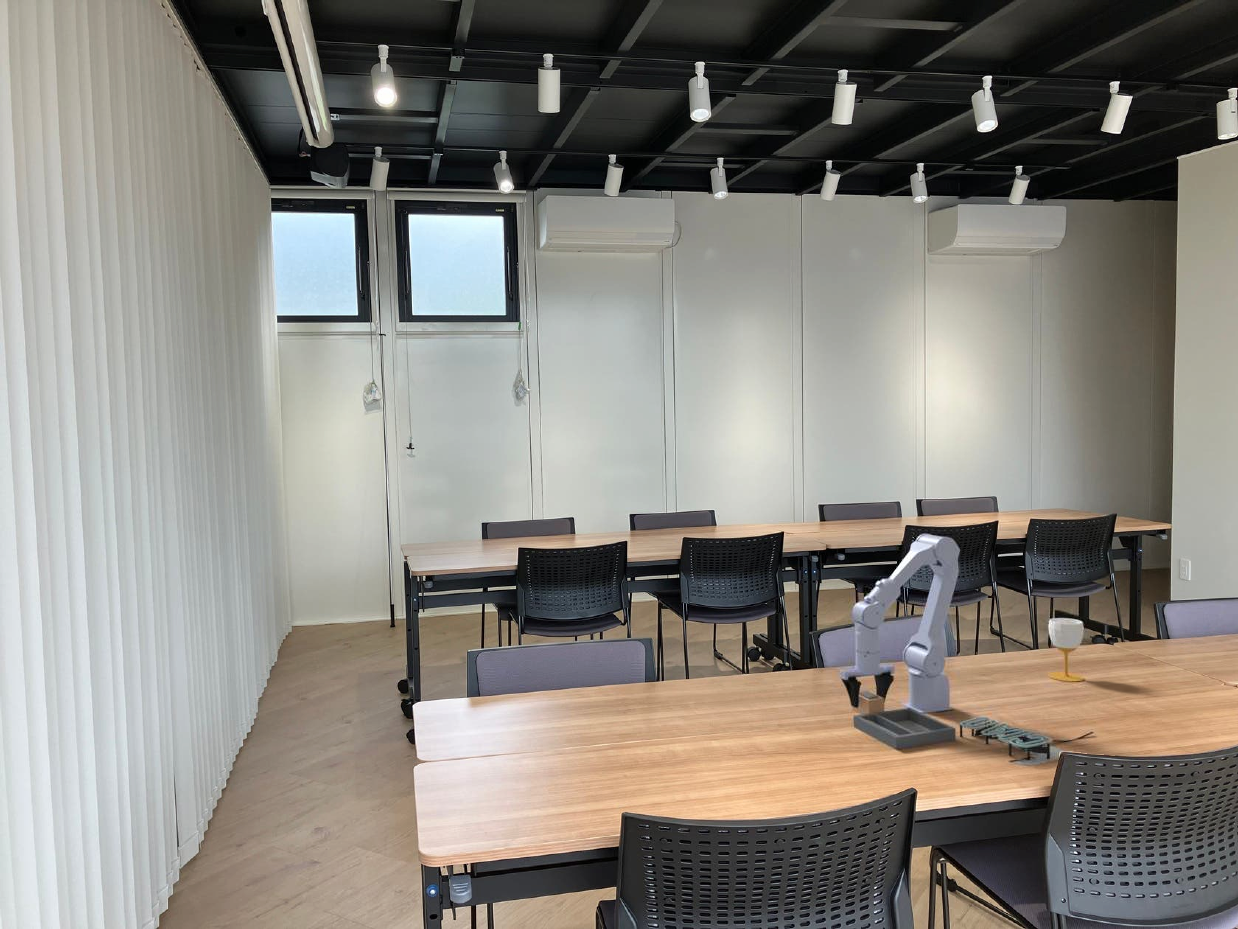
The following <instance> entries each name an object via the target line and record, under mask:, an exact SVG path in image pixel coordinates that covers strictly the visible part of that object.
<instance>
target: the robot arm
mask: <svg viewBox="0 0 1238 929" xmlns="http://www.w3.org/2000/svg"><path fill="white" fill-rule="evenodd" d="M960 551H961V549H960V547H959V546H958V544H957V543H956V541H955V540H954V539H953V538H952V537H948V536H941V535H935V534H934V535H933V534H930V533H921V534H919V536H917V537H916V540H915V541H913V542H912V543H911V544H910V549H909V551H908V553H907V554H906V555H905V557H904V558H903V559H902V561H901V562H900V563H899V565H898V566H896V569H895V570H894V571H893V573H892V574H891V575H890V576H889V577H888V578H882V579H880V580H877V581H876V583H875V586H874V588H873V589H872V590H871V591H870V592H869V593H868V594H867V595H865V596H864V598H863V600H861V601H858V602H856V603H855V605H854V606H853V608H852V611H850V613H849V615H850V618H851V620H852V621H853V623H854V630H855V632H854V633H855V634H854V635H855V642H854V643H855V645H854V646H855V664H854V666H853V667H852V666H851V667H849V668H844V669H840V673H839V674H840V675H839V676H840V679H841V681H842V683H843V686H844V687H845V690H846V692H847V695H848V698H849V703H850V706H851V707H852V706H853V707H855V708H858V706H859V692H860V691H861V690H860V688H861V685H862V681H859V680H858V678H862V677H871V676H874V677H873V678H874V681H875V688H876V691H875V692H876V693H875V694H876V695H878V696H880V697H882V698H884V704H885V703H886V698H887V695H888V692H889V689H890V687H891V685H892V684H893V682H894V681H895V677H894V675H895V665H892V664H880V626H881V625H882V624H883V623H884V622H885V615H886V613H887V611H888V610H889V609H890V607H891V606H892V604H894V602H896V600H897V599H898V598H899V597H900V596H901V587H902V586H903V585H904V584H905V583H906V582H908V580H909V579H910V578H912V576H913V575H914V574H915V573H916V572H917V571H918V570H920V568H921V567H922V566H929V567H930V568H931V571H932V572H933V579H932V582H931V585H930V588H929V593H928V595H927V600H926V602H925V603H926V604H925V607H924V610H923V615H922V618H921V620H920V621H921V622H920V625H919V629H918V632H917V633H915V634H914V635H912V636H911V637H910V639H909V642H908V644H907V645H906V647H905V648H904V650H903V652H902V659H903V663H904V664H905V666H907V671H908V701H906V702H902V703H901V705H902V706H904V707H905V708H912V709H914V710H916V711H918V712H920V713H923V714H926V713H927V714H928V713H937V712H943V711H944V712H945V711H950V710H952V709H953V707H952V706H950V704H951V703H950V699H951V697H950V695H951V694H950V691H951V689H950V682H949V678H948V677H947V675H946V674H945V673H944V672H943V671H944V669H945V666H946V659H945V655H946V647H945V645H944V644H943V641H942V635H943V632H944V628H945V624H946V621H947V618H948V617H947V616H948V613H949V610H950V607H951V604H952V603H951V602H952V598H953V597H954V596H953V595H954V593H955V592H954V591H955V587H956V584H957V581H958V578H959V573H960V569H959V561H958V560H959V556H960ZM893 674H894V675H893Z"/></svg>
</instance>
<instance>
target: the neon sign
mask: <svg viewBox="0 0 1238 929" xmlns="http://www.w3.org/2000/svg"><path fill="white" fill-rule="evenodd" d="M1009 726H1010V724H1009V723H1006V722H1002V723H999V721H998V720H997V719H996V718H993V719H992V720H991V719H990V718H989V717H987V716H978V717H975V718H971V719H966V720H963V721H960V722H959V738H963V728H965V729H969V730H971V737H979V736H982V735H984V736H985V744H984V745H985V746H986V745H989V740H999V741H1001V742H1003V743H1005V744H1007V745H1008V756H1010V757H1013V756H1012V755H1013V754H1012V750H1013V749H1012V748H1013V747H1014V748H1017V749H1019V750H1020V751H1024V753H1025V752H1026V754H1027V755H1026V756H1027V757H1023V758H1020V759H1018V758H1017V759H1013V760H1008V762H1009V763H1012V764H1015V765H1021V766H1039V765H1041V764H1042V765H1043V764H1046V763H1049V762H1052V761H1057V760H1059V759H1058V758H1059V752H1060V751H1062V750H1063V749H1062V748H1059V747H1055V746H1052V745H1051V743H1052V742H1060V743H1062V742H1064V743H1065V742H1066V743H1067V742H1073V741H1076V740H1081V739H1083V738H1085V737H1087V736H1089V735H1092V734H1094V731H1090V732H1088V733H1086V734H1084V735H1081V736H1079V737H1076V738H1074V739H1068V740H1058V739H1052V737H1051V738H1050V737H1049V736H1046V735H1045V734H1038V733H1035V731H1030V730H1029V729H1028V730H1027V729H1022V728H1021V727H1020V726H1019V727H1018V726H1014V727H1009ZM1045 739H1047V740H1046V741H1045ZM1031 755H1032V756H1031Z"/></svg>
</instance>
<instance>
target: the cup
mask: <svg viewBox="0 0 1238 929" xmlns="http://www.w3.org/2000/svg"><path fill="white" fill-rule="evenodd" d="M1047 627H1048V635H1049V638H1050V640H1051V643H1052V645H1053V646H1054V647H1055V648H1056V649H1057V650H1059V651H1060V652H1062V653H1063V654H1064V664H1063V665H1064V671H1062V672H1061V671H1056V672H1050V673H1048V677H1049V678H1050V679H1052V678H1053V679H1052V680H1056V681H1060V682H1066V681H1068V683H1078V682H1077V681H1080V682H1082V681H1084V680H1085V677H1084V676H1082V675H1079V674H1077V673H1073V672H1069V664H1068V663H1069V662H1068V659H1069V657H1068V656H1069V654H1070V653H1071V652H1074V651H1076V649H1078V648H1079V647H1080V646H1081V643H1082V642H1083V638H1084V630H1085V628H1084V622H1083V621H1081V620H1079V619H1075V618H1069V617H1068V618H1067V617H1057V618H1056V617H1053V618H1049V620H1048V626H1047ZM1072 681H1073V682H1072Z"/></svg>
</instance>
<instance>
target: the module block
mask: <svg viewBox="0 0 1238 929" xmlns="http://www.w3.org/2000/svg"><path fill="white" fill-rule="evenodd" d="M851 711H852V712H855V713H857V714H858V715H863V714H869V713H876V712H883V711H885V703H884V698H882V697H880V696H878V695H876V693H873V692H871V691H869V690H859V706H858V708H855V707H853V706H851Z"/></svg>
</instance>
